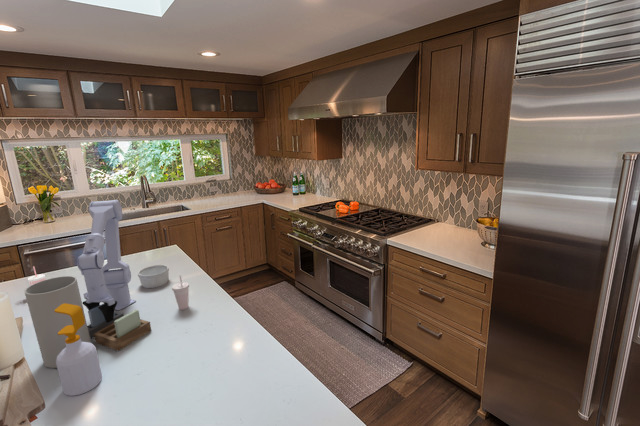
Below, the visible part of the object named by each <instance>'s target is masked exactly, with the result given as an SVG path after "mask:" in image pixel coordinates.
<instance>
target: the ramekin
mask: <svg viewBox="0 0 640 426" xmlns="http://www.w3.org/2000/svg"><path fill="white" fill-rule="evenodd" d="M169 269H170V268H169V266H168V265H166V264H155V265H154V264H153V265H149V266H146V267H144V268H141V269H140V270H138V272H137V276H138V278H139V281H140V284H141V286H142V287H144V288H145V289H157V288H159V287H161V286H164V285H166V284H167V283H168V281H169V275H170V274H169V271H170V270H169Z"/></svg>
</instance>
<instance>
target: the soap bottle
mask: <svg viewBox="0 0 640 426" xmlns="http://www.w3.org/2000/svg"><path fill="white" fill-rule="evenodd" d="M54 312H56V313H62V314H67V315H69V316H70V317H71V318H72V322H73V325H68V326H65V327H64V328H63V329H61V330H60V331H59V332H58V335H65V336H68V338H67V339H66V340H65V343H66V348H65V349H63V350H62V351H61V352H60V353H59V355H58V356H57V359H56V365H57V368H56V369H57V373H58V376H59V380H60V384H61V387H62V391H63V393H64V394H65V395H66V396H71V397H73V396H74V397H75V396H79V395H82V394H85V393H87V392H89V391H91V390H92V389H93V390H94V388H95V387H97V386H98V385H99V384H100V383H101V380H102V379H103V375H102V374H103V372H102V370H101V365H100V360H99V356H98V352H97V347H96V346H95V345H94V344H93V342H91V343H89V342H81V339H80V335H76V334H75V333H77V330H79V329H80V328H81V327H82V326H83V325H84V324H85V319H84V315H83V311H82V308H81V307H80V306H77V305H72V304H67V303H64V304H62V305H60V306H59V307H58V308H56V309H55V311H54Z"/></svg>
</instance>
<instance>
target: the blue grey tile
mask: <svg viewBox="0 0 640 426" xmlns="http://www.w3.org/2000/svg"><path fill="white" fill-rule="evenodd" d="M101 305H104V303H102V304H101V303H100V305H99V306H101ZM99 306H97V307H95V308H93V309H91V310H88V311H87V313H88V317H89V321H90V324H91V327H92V328H93V327H95V326H97V325H99V324H101V323H103V322H105V321H106V320H105V318H104V315H103V313H102V311H101V310H100V309H99V308H98V307H99ZM115 311H116V310H114V316H115Z"/></svg>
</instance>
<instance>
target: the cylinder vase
mask: <svg viewBox="0 0 640 426" xmlns="http://www.w3.org/2000/svg"><path fill="white" fill-rule="evenodd" d="M23 291H24V296H25V298H26V302H27V306H28V311H29V313H30V317H31V322H32V326H33V329H34V332H35V337H36V341H37V342H38V347H39V350H40V354H41V358H42V361H43V365H44V366H45V367H46V368H49V369H57V365H56V359H57V356H58V355H59V353H60V352H61V351H62V350H63V349H65V348H66V343H65V340H66V339H67V338H68V336H65V335H58V332H59V331H60V330H61V329H63V328H64V327H65V326H68V325H73V322H72V318H71V317H70V316H69V315H67V314H62V313H56V312H54V311H55V309H56V308H58V307H59V306H60V305H62V304H64V303H67V304H72V305H77V306H80V307H81V308H82V311H83V315H84V319H85V324H84V325H83V326H82V327H81V328H80V329H79V330H77V333H75V334H76V335H80V339H81V342H89V343H92V340H91V338H90V336H89V332H88V327H87V326H88V324H87V319H86V314H85V310H84V305H83V302H82V297H81V293H80V289H79V284H78V280H77V277H76V276H73V275H64V276H63V275H62V276H56V277H51V278H46V279H45V280H43V281H40V282H38V283H35V284H33V285H31V286H30V285H29V286H28V287H26V288H25V290H23Z"/></svg>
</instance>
